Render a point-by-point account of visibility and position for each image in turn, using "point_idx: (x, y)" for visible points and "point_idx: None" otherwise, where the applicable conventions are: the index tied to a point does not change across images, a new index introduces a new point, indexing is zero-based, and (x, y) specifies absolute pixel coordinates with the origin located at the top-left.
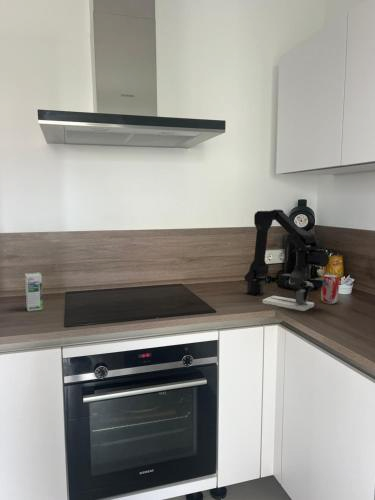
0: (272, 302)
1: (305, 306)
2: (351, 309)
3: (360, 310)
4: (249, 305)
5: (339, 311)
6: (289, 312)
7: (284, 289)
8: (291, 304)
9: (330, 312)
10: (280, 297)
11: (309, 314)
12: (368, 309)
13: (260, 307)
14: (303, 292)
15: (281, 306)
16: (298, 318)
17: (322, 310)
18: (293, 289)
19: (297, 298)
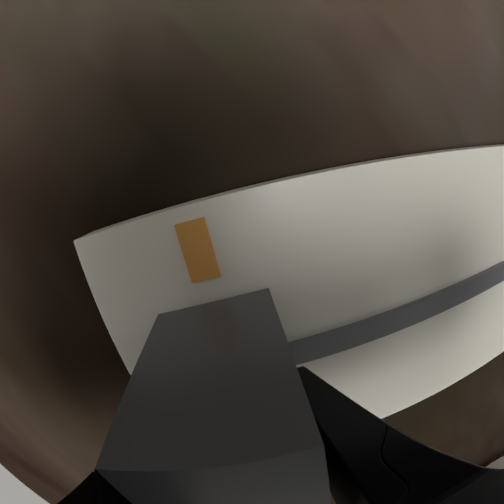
0: (483, 146)
1: (103, 295)
2: (55, 482)
3: (37, 482)
4: (500, 21)
5: (26, 428)
6: (162, 37)
7: (484, 461)
8: (289, 213)
9: (11, 377)
10: (494, 341)
11: (8, 179)
12: (48, 500)
13: (446, 6)
14: (118, 482)
15: (388, 158)
16: (19, 11)
17: (61, 387)
18: (439, 454)
19: (242, 336)
